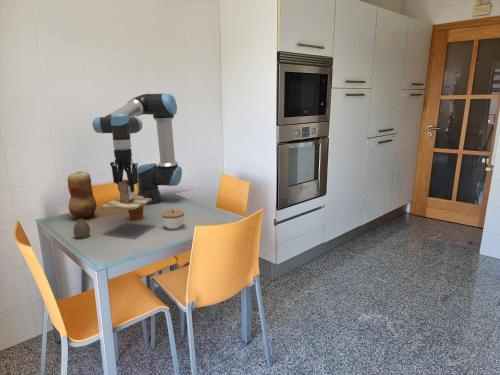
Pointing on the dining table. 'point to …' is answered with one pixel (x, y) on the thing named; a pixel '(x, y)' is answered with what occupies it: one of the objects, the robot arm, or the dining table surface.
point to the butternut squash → (81, 195)
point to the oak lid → (126, 199)
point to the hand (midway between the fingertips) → (127, 198)
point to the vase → (81, 229)
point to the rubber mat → (129, 230)
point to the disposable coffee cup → (136, 212)
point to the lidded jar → (173, 219)
